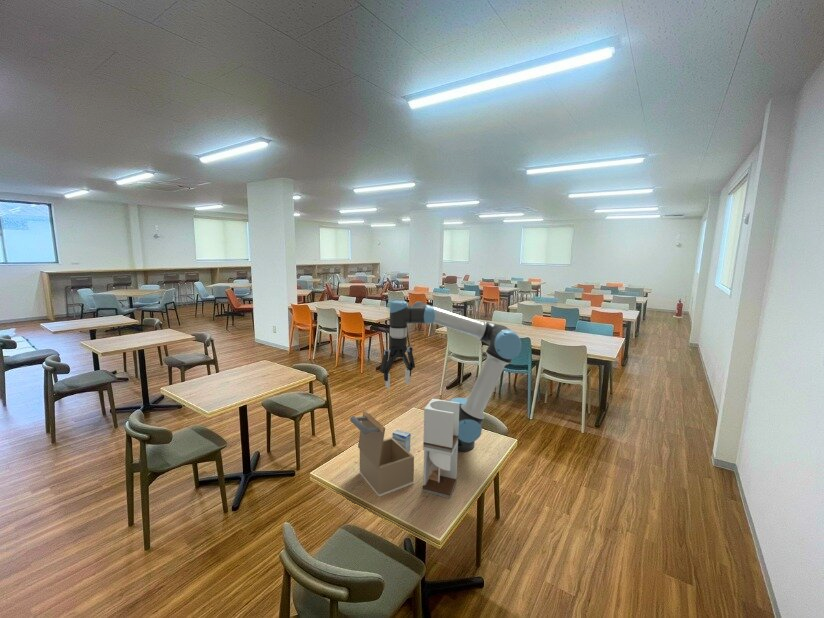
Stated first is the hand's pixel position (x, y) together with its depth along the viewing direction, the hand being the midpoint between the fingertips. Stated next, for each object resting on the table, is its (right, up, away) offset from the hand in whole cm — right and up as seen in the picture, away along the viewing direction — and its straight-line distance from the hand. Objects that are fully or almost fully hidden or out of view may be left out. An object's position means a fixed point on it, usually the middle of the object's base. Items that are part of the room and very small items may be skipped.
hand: (397, 385), depth 161 cm
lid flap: (-10, -18, -15) cm, 26 cm away
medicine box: (+1, -34, +14) cm, 37 cm away
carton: (-5, -37, -9) cm, 39 cm away
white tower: (+18, -39, -14) cm, 45 cm away
